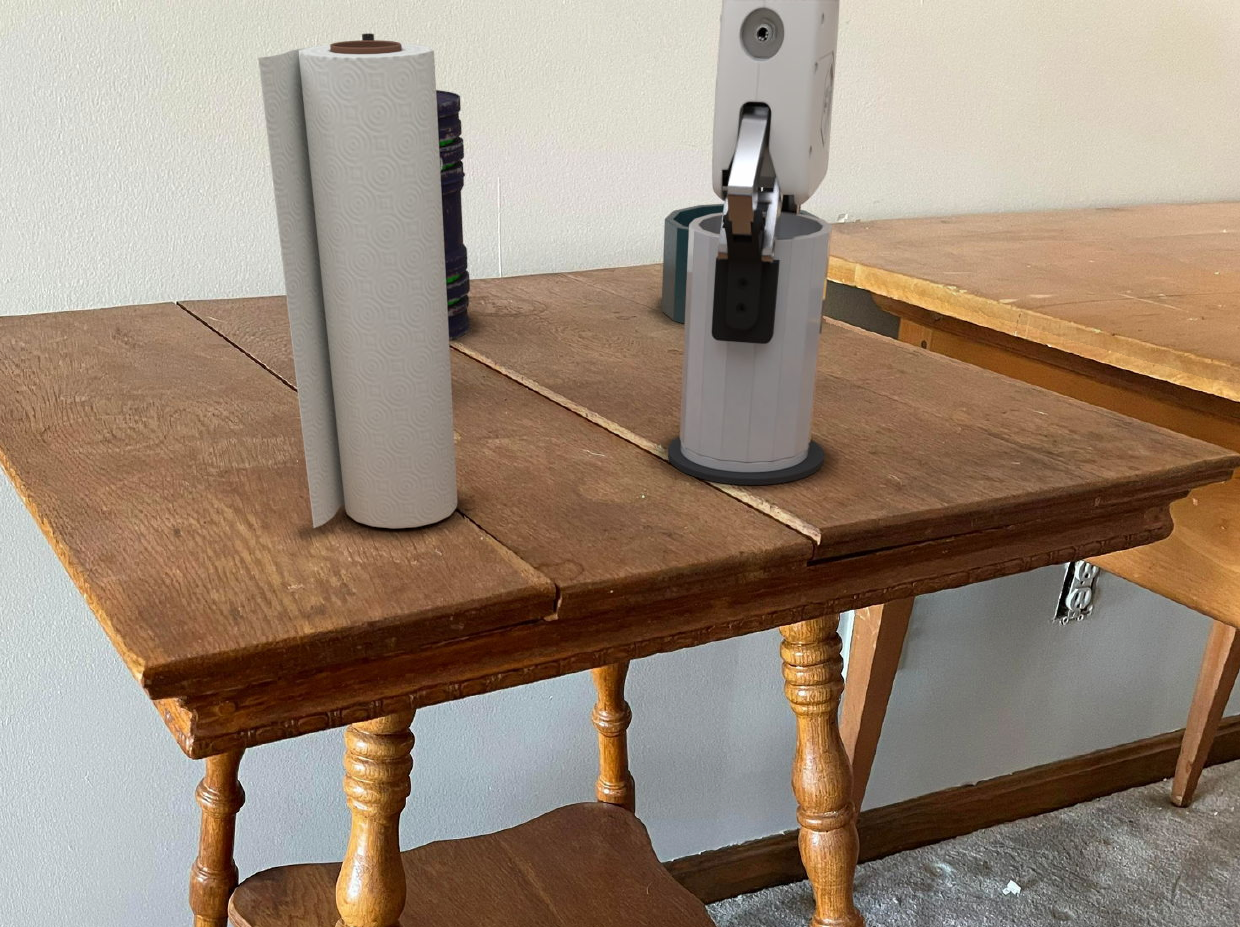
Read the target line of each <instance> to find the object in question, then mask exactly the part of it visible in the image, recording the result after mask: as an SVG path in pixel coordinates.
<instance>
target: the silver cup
mask: <svg viewBox="0 0 1240 927" xmlns="http://www.w3.org/2000/svg"><path fill="white" fill-rule="evenodd" d="M762 213H763V217H765V218H766V217H767V212H762ZM722 216H723V213H716V214H709V215H706V216H703V217H699V218H696V219H694V220H693V221H692V222H691V223H690V224H689V240H688V263H687V285H686V307H685V324H684V329H683V330H684V332H683V351H682V352H683V354H682V374H681V375H682V378H681V398H680V399H681V400H680V422H679V436H680V440H681V445H680V450H681V452H682V454H683V455H684V456H685V457H686V458H687V459H688V460H690V461H692V462H694V463H696V464H699V465H701V466H704V467H708V468H712V469H716V470H722V471H730V472H742V473H757V472H770V471H777V470H782V469H786V468H789V467H792V466H795V465H797V464H799V463H801V462H802V461H804V460H805V459H806V457H807V456H808V452H809V443H810V441H811V440H812V429H813V420H814V410H815V400H816V390H817V380H818V373H819V372H818V371H819V362H820V352H821V343H822V342H821V340H822V333H823V322H824V312H825V305H826V304H825V303H826V292H827V282H828V272H829V264H830V255H831V243H832V234H833V225H832V224H831V223H829V222H828V221H826V220H825V219H823V218H820V217H819V218H820V219H819V218H816V217H812V216H809V215H803V214H796V213H788V212H781V213H780V220H779V227H778V233H777V240H776V247H775V254H774V260H780V264H779V276H778V287H777V299H776V311H775V323H774V334H773V337H772V339H771V341H770V342H769V343H767V344H758V343H745V342H731V341H718V340H715V339H714V338H713V336H712V316H713V299H714V282H715V265H716V258H717V256H718V245H719V237H720V230H721V223H722ZM765 224H766V222H765ZM764 231H765V226H764Z"/></svg>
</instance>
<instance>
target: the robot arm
mask: <svg viewBox="0 0 1240 927" xmlns="http://www.w3.org/2000/svg"><path fill="white" fill-rule="evenodd" d="M839 21H840V0H722V1H721V12H720V15H719V37H718V48H717V61H716V76H715V78H716V79H715V93H714V108H713V126H712V127H713V128H712V129H713V130H712V149H711V150H712V152H711V155H712V156H711V187H712V191H713V192H714V194H715V195H716V196H717V197H718V198H719V199H720V200H721V201H723V204H724V209H723V216H722V223H721V230H720V237H719V245H718V256H717V258H716V265H715V282H714V299H713V316H712V336H713V338H714V339H715V340H718V341H731V342H745V343H758V344H767V343H769V342H770V341H771V339H772V337H773V334H774V323H775V311H776V299H777V287H778V276H779V264H780V260H774V254H775V247H776V240H777V233H778V227H779V220H780V213H781V212H788V213H796V214H800V211H801V210H802V205H803V204H805V203H806V202H807V201H808V200H810V198H812V196H813V195H814V194H815V193H816V191H817V190H818V189H819V187H820V185H821V184H822V182H823V181H824V179H825V177H826V176H827V173H828V169H829V159H830V146H831V143H830V142H831V128H832V117H833V116H832V114H833V104H834V103H833V102H834V88H835V77H836V64H837V52H838V51H837V50H838V37H839V24H840V22H839ZM762 212H767V217H766V218H765V217H763V213H762ZM765 222H766V224H765ZM764 226H765V231H764Z"/></svg>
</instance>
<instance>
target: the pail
mask: <svg viewBox="0 0 1240 927" xmlns="http://www.w3.org/2000/svg"><path fill="white" fill-rule="evenodd" d="M723 209H724V203H716V204H715V203H713V204H710V203H709V204H697V205H693V206H687V207H685V208H679V209H676V210H672V211H671V212H670V213H669V214H668V215H667V216H665V218H664V229H663V230H664V231H663V257H662V282H661V284H662V286H661V290H662V291H661V312H662V313H664V314H665V315H666V316H667V317H668V318H669V319H670V320H672V322H676V323H680V324H683V325H685V307H686V285H687V263H688V240H689V224H690V223H691V222H692V221H693V220H694V219H696V218H699V217H703V216H706V215H709V214H716V213H723ZM800 214H803V215H809V216H812V217H816V218H819V219H821V217H818V216H817V215H814V214H813V213H811V212H808V211H807V210H804V209H801V211H800Z"/></svg>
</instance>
